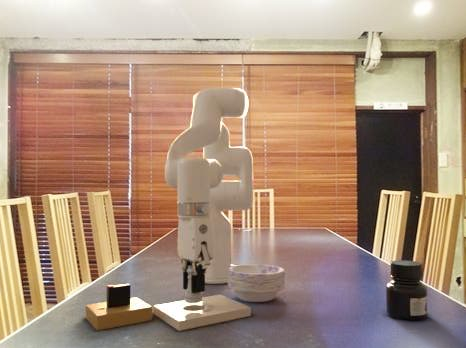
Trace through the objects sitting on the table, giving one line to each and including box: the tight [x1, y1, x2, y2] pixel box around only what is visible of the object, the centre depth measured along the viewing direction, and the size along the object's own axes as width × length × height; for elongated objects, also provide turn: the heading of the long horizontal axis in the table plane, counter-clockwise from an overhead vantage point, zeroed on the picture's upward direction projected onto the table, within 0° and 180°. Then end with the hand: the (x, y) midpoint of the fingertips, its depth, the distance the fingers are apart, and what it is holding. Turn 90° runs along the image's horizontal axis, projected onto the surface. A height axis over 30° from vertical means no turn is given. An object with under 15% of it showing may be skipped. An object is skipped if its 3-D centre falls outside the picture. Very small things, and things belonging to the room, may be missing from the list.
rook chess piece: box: [183, 264, 204, 303], centre depth 99 cm, size 4×4×8 cm
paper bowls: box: [227, 263, 286, 303], centre depth 114 cm, size 15×15×8 cm
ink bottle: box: [385, 259, 428, 321], centre depth 99 cm, size 10×9×12 cm
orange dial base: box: [85, 296, 153, 331], centre depth 97 cm, size 12×10×3 cm
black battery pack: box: [106, 283, 131, 308], centre depth 97 cm, size 5×2×5 cm, turn 123°
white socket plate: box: [153, 294, 251, 332], centre depth 100 cm, size 18×14×2 cm
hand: (193, 289), depth 99 cm, fingers closed on rook chess piece, 3 cm apart
